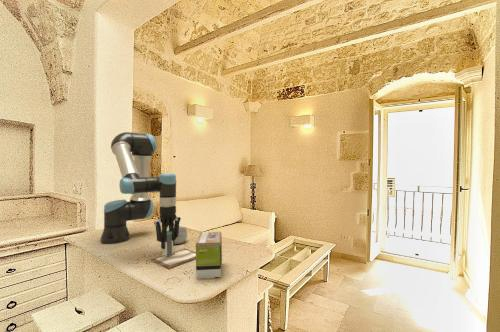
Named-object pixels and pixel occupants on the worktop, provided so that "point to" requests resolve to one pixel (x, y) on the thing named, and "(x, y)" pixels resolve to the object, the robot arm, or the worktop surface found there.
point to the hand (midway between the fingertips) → (167, 254)
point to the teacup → (181, 235)
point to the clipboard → (175, 258)
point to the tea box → (209, 255)
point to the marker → (169, 242)
